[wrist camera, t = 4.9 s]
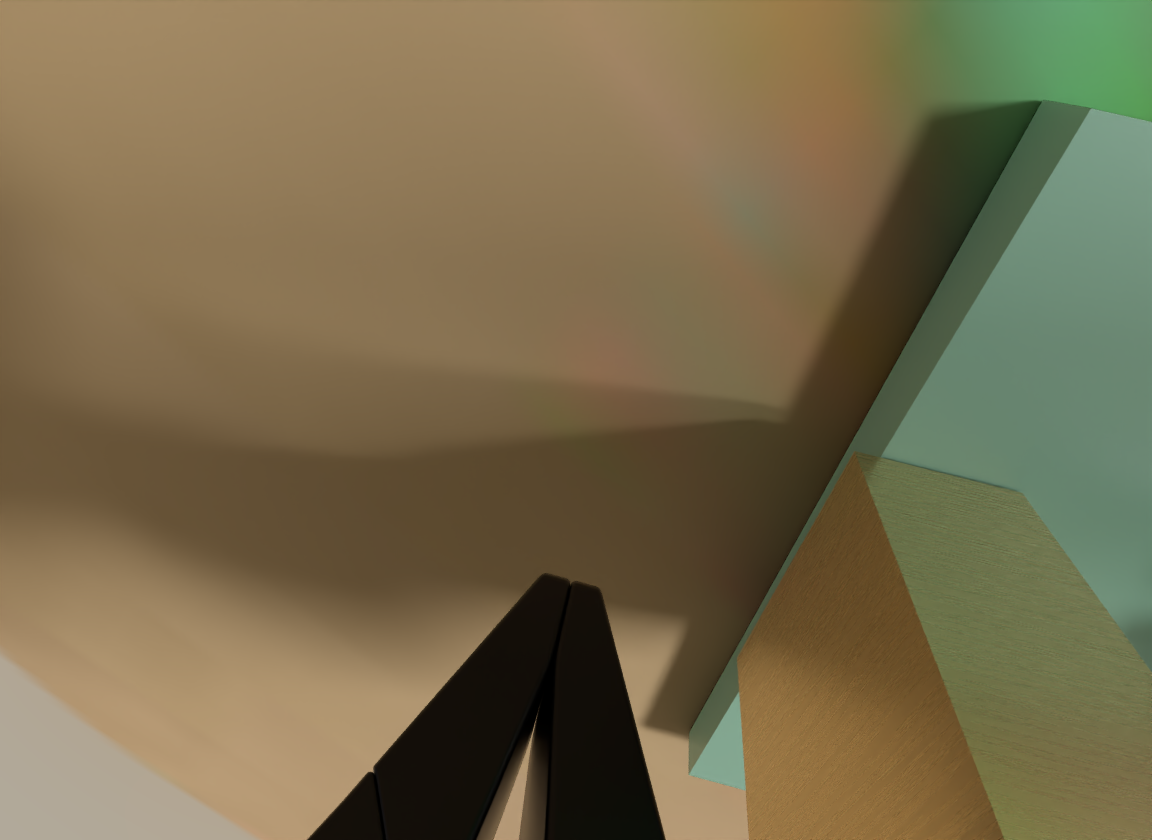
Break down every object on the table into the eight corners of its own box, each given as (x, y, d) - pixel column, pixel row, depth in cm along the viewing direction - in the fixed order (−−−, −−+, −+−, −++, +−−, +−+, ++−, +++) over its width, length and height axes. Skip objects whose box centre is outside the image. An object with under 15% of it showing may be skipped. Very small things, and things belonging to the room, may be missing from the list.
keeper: (1238, 547, 8) (1995, 1256, 3) (1021, 733, 11) (1274, 1270, 6) (854, 450, 8) (1066, 997, 4) (736, 657, 11) (767, 1121, 6)
